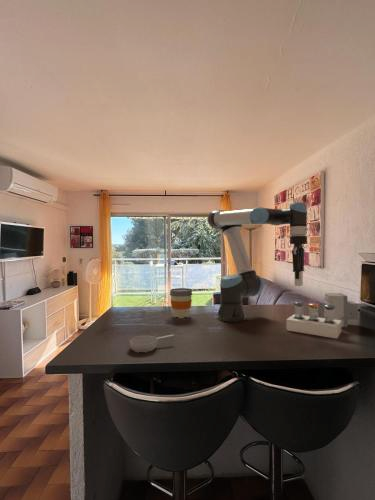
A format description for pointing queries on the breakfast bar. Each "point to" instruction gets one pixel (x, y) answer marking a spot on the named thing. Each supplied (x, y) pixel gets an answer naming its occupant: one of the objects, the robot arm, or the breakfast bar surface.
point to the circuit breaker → (342, 307)
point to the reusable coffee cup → (181, 302)
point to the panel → (314, 326)
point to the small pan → (145, 343)
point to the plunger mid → (313, 312)
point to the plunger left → (299, 310)
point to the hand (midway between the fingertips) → (298, 285)
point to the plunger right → (329, 314)
